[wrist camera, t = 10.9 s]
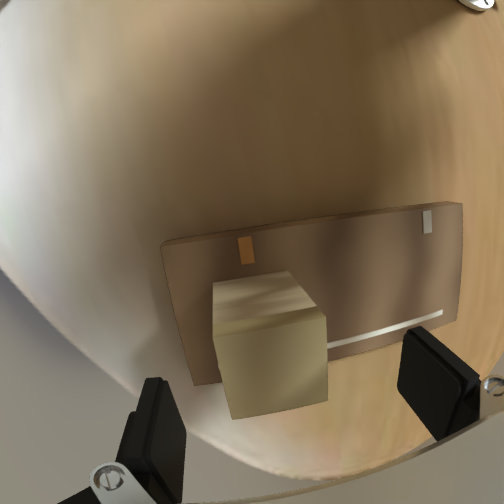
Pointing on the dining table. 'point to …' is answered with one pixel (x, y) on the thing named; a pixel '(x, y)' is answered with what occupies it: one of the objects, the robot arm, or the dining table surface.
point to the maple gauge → (269, 345)
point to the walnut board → (328, 275)
